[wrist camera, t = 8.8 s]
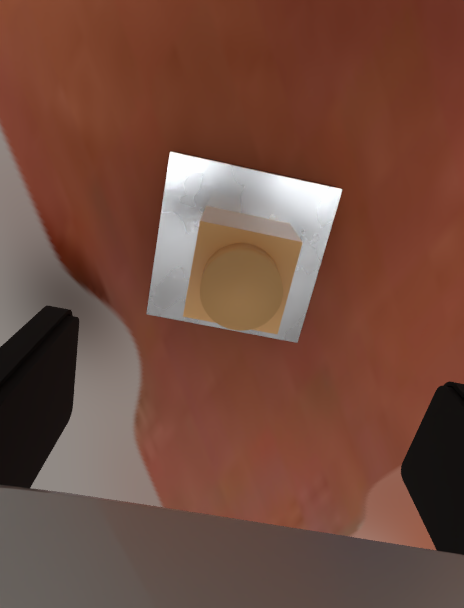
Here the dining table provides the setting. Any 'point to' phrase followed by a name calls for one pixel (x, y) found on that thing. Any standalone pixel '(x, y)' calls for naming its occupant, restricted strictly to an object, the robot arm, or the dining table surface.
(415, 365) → the dining table surface
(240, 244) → the cube with dome knob
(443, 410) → the robot arm
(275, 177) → the plate
